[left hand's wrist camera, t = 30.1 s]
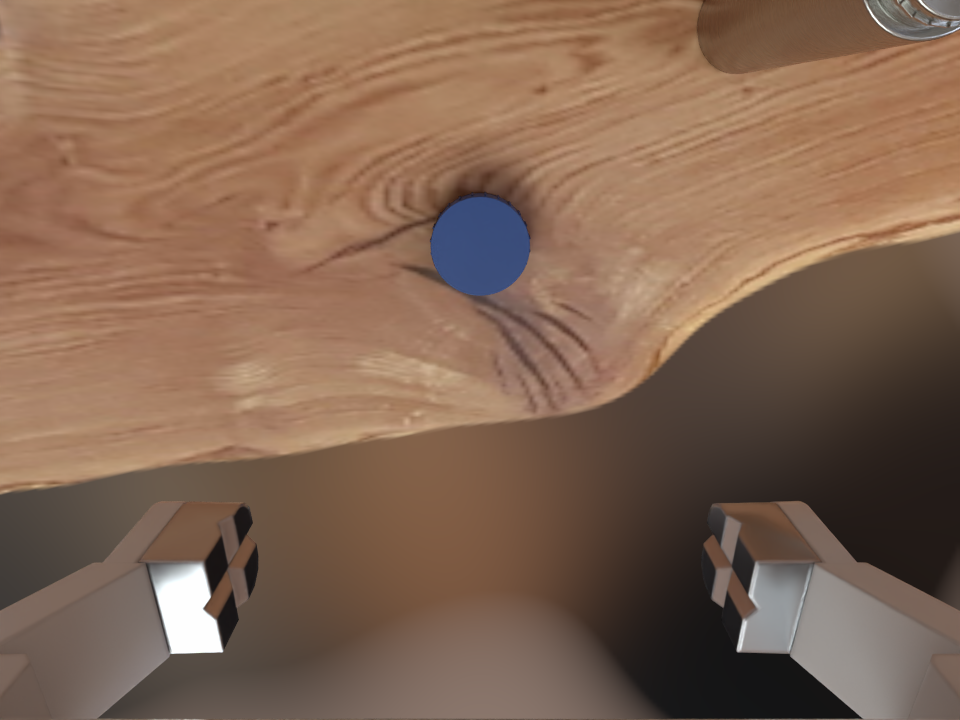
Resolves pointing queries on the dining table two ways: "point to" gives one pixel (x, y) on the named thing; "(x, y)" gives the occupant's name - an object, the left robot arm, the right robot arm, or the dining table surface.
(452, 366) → the dining table surface
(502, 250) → the lid
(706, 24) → the jar
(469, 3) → the dining table surface
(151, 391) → the dining table surface
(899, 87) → the dining table surface
